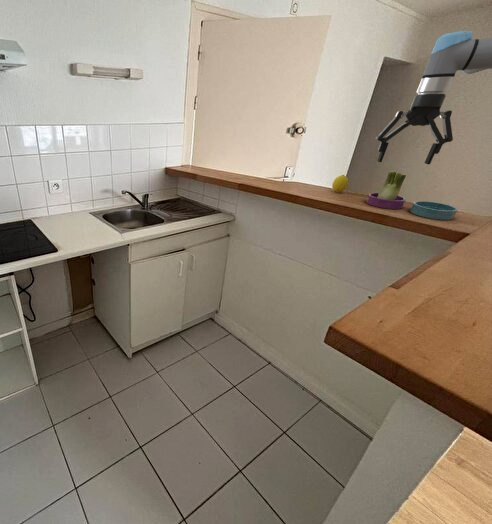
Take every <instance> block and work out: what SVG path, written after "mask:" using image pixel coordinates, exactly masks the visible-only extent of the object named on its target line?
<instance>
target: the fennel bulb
mask: <svg viewBox="0 0 492 524" xmlns="http://www.w3.org/2000/svg"><path fill="white" fill-rule="evenodd" d="M387 174H388V175H387V177H386V180H385V182H384V184H383V185H382V187H381V189H380V191H379V192H378V193H379V194H378V197H377V198H380V199H385V200H395V199H396V197H397V195H398V196H399V194H400V191H401V188H402V186H403V182H404V181H405V179H406V177H407V175H406V174H402V173H400V172H396V171H389V172H388V173H387Z"/></svg>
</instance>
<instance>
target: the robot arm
mask: <svg viewBox="0 0 492 524" xmlns="http://www.w3.org/2000/svg"><path fill="white" fill-rule="evenodd" d="M491 69H492V37H486V38H473V31H471V30H465V31H463V30H461V31H454V32H448V33H445V34H442V35H441V36H440V37H438V38H437V40H436V42H435V44H434V46H433V49H432V51H431V53H430V55H429V58H428V60H427V64H426V66H425V69H424V71H423V73H422V77H421V80H420V82H419V85H418V87H417V90H416V95H414V96H413V100H412V102H411V105H410V108H409V110H407V111H403V110H398V111H396V113H395V115H394V117H393V118H392V119H391V120H390V122H388V124H387V125H386V126H385V127H384V128H383V129H382V130H381V131H380V132H379V133H378V134H377V136H375V140H377V141H378V142H379V146H378V148H377V152H378V153H379V156H378V158H377V160H376V162H378V163H382V162H383V160H384V157H385V154H386V152H387V149H388V146H389V144H390V143H389V142H388V141H390V140H391V139H392V138H394V137H395V136H396V135H398V134H399V133H400V132H402V131H403V130H404V129H406V128H408V127H409V126H412V127H418V126H419V127H420V126H421V127H425V126H427V127H428V130H429V131H430V133H431V135H432V136H433V138H434V140H435V142H434V143H432V144H431V146H430V149H429V151H428V153H427V156H426V158H425V160H424V164H426V165H431V163H432V161H433V159H434V158H435V155H438V154H439V153H440V151H441V149H442V147H443V145H444V144H446V143H452V142H453V141H454V137H453V129H452V121H451V117H452V114H453V110H451V109H450V110H448V109H447V110H443V111H441V108H442V106H443V103H444V102H445V99H446V97H447V95H446V93H447V92H449V91H450V87H451V85H452V83H453V80H454V78H455V76H456V73H457V71H461V73H464V74H468V75H472V74H475V73H476V74H477V73H479V72H483V71H486V70H491ZM404 117H405V118H406V120H405V121H404V122H402V123H401V124H400V125H398V126H397V127H396V128H394V129H393V130H392V131H390V130H391V129H392V128H393V127H394V126H395V125H397V123H398V122H399V121H400V120H401V119H403V118H404ZM438 117H440V119H441V124H442V131H443V135H442V133H441V131H440V129H439V128H438V126H437V123H436V121H435V119H437V118H438Z"/></svg>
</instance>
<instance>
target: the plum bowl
mask: <svg viewBox="0 0 492 524" xmlns="http://www.w3.org/2000/svg"><path fill="white" fill-rule="evenodd" d="M378 194H379V192H370V193H369V194H368V195H367V198H366V200H365V203H366V204H368V205H370V206H373V207H376V208H381V209H388V210H400V209H402V208H403V207H404V205H405V203H406V201H407V198H406V197H404V196H401V195H399V194H398V195H397V197H396V199H395V200H385V199H380V198H377V197H378Z"/></svg>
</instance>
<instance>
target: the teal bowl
mask: <svg viewBox="0 0 492 524" xmlns="http://www.w3.org/2000/svg"><path fill="white" fill-rule="evenodd" d="M458 210H459V208H457V207H456V206H453V205H450V204H447V203H441V202H437V201H428V200H417V201H414V202H413V203H412V206H411V208H410V209H409V212H410V213H411V214H414V215H416V216H419V217H422V218H427V219H431V220H441V221H448V220H449V221H450V220H453V219H454V218H455V216H456V214H457V212H458Z"/></svg>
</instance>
